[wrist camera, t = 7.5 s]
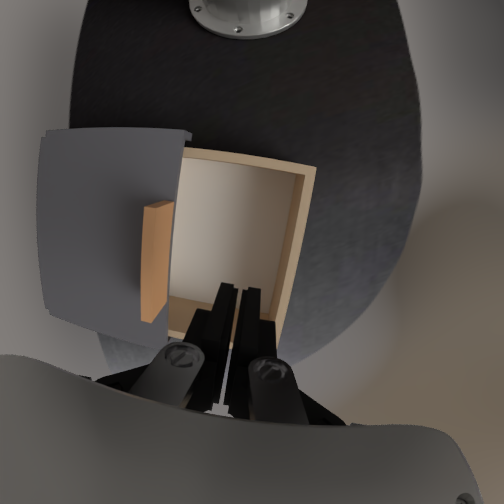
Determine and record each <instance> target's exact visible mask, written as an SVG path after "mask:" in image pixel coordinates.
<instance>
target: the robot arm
mask: <svg viewBox="0 0 504 504" xmlns="http://www.w3.org/2000/svg"><path fill="white" fill-rule="evenodd" d="M306 5H307V0H189V7H190V10H191V13H192V15H193V16H194V18H195V20H196V21H197V22H198V23H199V24H200V25H201V26H202V27H203V28H205V29H206V30H208V31H209V32H212V33H214V34H216V35H219V36H223V37H227V38H233V39H257V38H265V37H268V36H272V35H276V34H278V33H280V32H282V31H285V30H287V29H288V28H290V27H291V26H293V25H294V24H295V23H296V22H297V21H298V20H299V19H300V18H301V17H302V15H303V13H304V12H305V9H306ZM289 18H291V19H289ZM237 32H240V33H237ZM238 289H239V288H234V284H230V283H224V282H221V284H220V287H219V290H218V292H217V295H216V298H215V301H214V304H213V307H212V310H211V311H210V310H205V309H200V308H197V309H196V311H195V313H194V316H193V318H192V320H191V323H190V325H189V327H188V330H187V332H186V334H185V337H184V339H183V341H182V342H173V343H170V344H167V345H165V346H164V347H163V348H162V349H161V350H160V352H159V353H158V354H157V355H156V357H155V358H154V359H153V361H152V362H151V363H150V364H148V365H144V366H141V367H138V368H134V369H131V370H127V371H124V372H120V373H116V374H113V375H109V376H105V377H102V378H100V379H98V380H96V381H92V379H91V377H86V376H80V375H76V374H73V373H71V372H68V371H66V370H63V369H60V368H58V367H56V366H53V365H51V364H48V363H45V362H42V361H40V360H37V359H33V358H28V357H25V356H18V355H0V504H484V502H483V499H482V496H481V493H480V490H479V487H478V485H477V482H476V480H475V478H474V475H473V473H472V470H471V468H470V466H469V464H468V462H467V460H466V458H465V456H464V455H463V453H462V451H461V449H460V448H459V446H458V445H457V443H456V442H455V441H454V440H453V439H452V438H451V437H450V436H449V435H448V434H446V433H444V432H442V431H440V430H437V429H434V428H429V427H425V426H418V425H401V424H399V425H398V424H391V425H390V424H389V425H362V424H356V423H351V424H350V426H349V425H346V424H345V423H344V421H342V420H341V419H340V418H339V417H337V416H336V415H334V414H333V413H331V412H330V411H329V410H327V409H326V408H324V407H323V406H322V405H320V404H318V403H317V402H316V401H314V400H313V399H312V398H310V397H309V396H307V395H306V394H305V393H303V392H302V391H301V390H299V389H298V386H297V383H296V380H295V377H294V373H293V371H292V369H291V367H290V366H289V365H288V364H287V363H286V362H284V361H282V360H281V359H278V358H277V347H276V323H275V321H270V320H263V319H260V303H261V289H260V288H253V287H248V290H245V289H243V290H242V296H241V301H240V307H239V313H238V318H237V324H236V330H235V335H234V341H233V347H232V353H231V359H230V365H229V372H228V378H227V384H226V391H225V397H224V405H229V410H228V414H231V415H232V416H233V417H234V418H232V417H226V416H220V415H215V414H209V413H204V412H205V411H207V410H212V406H213V403H217V404H218V403H219V399H220V394H221V389H222V383H223V378H224V373H225V368H226V362H227V357H228V352H229V347H230V341H231V334H232V328H233V321H234V315H235V308H236V302H237V295H238Z"/></svg>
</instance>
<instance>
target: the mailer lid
mask: <svg viewBox="0 0 504 504" xmlns="http://www.w3.org/2000/svg"><path fill="white" fill-rule="evenodd" d="M191 138H192V133H190V132H188V131H185V130H178V129H161V128H130V127H105V128H76V129H61V130H48V131H46V137H42V138H41V145H40V155H39V164H38V178H37V243H38V257H39V268H40V276H41V284H42V291H43V297H44V304H45V308H46V309H48V310H49V312H50V315H52V316H55V317H57V318H60V319H62V320H65V321H67V322H70V323H73V324H76V325H78V326H81V327H84V328H87V329H90V330H93V331H95V332H98V333H101V334H105V335H108V336H111V337H114V338H117V339H120V340H124V341H127V342H131V343H134V344H138V345H141V346H145V347H148V348H152V349H156V350H161V349H162V348H163V347H164V346H165V345H167V344H170V343H171V341H172V340H173V337H171V336H168V314H169V289H170V271H171V256H172V243H173V232H174V222H175V212H176V203H177V194H178V186H179V178H180V171H181V164H182V157H183V151H184V144H185V141H191Z"/></svg>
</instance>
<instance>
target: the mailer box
mask: <svg viewBox="0 0 504 504" xmlns="http://www.w3.org/2000/svg"><path fill="white" fill-rule="evenodd" d="M316 168H317V167H312V166H307V165H302V164H297V163H292V162H287V161H281V160H276V159H270V158H264V157H258V156H251V155H245V154H238V153H231V152H223V151H215V150H206V149H197V148H187V147H184V151H183V157H182V164H181V171H180V178H179V186H178V194H177V203H176V212H175V222H174V232H173V243H172V256H171V271H170V289H169V314H168V336H171V337H175V338H180V339H184V337H185V334H186V332H187V330H188V327H189V325H190V323H191V320H192V318H193V316H194V313H195V311H196V309H197V308H200V309H205V310H210V311H211V310H212V307H213V304H214V301H215V298H216V295H217V292H218V290H219V287H220V284H221V282H224V283H230V284H234V288H239V289H238V295H237V302H236V308H235V315H234V321H233V328H232V334H231V341H230V347H229V349H232V347H233V341H234V335H235V330H236V324H237V318H238V313H239V307H240V301H241V296H242V290H243V289H245V290H248V287H253V288H260V289H261V303H260V319H263V320H270V321H275V323H276V347H277V346H278V343H279V339H280V335H281V331H282V327H283V323H284V319H285V315H286V311H287V307H288V302H289V298H290V294H291V290H292V285H293V281H294V277H295V272H296V268H297V263H298V259H299V254H300V250H301V245H302V240H303V235H304V231H305V226H306V221H307V216H308V211H309V205H310V200H311V195H312V190H313V184H314V179H315V173H316Z"/></svg>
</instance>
